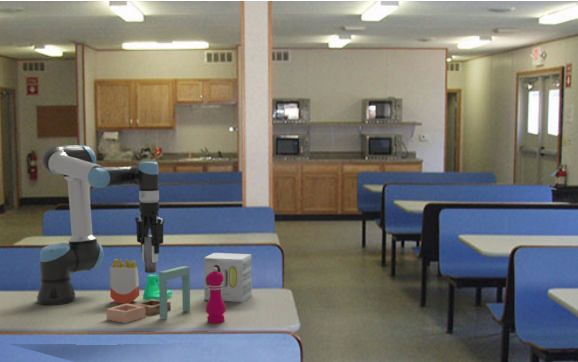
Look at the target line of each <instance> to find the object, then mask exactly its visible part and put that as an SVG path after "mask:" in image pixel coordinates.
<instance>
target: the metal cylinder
mask: <svg viewBox="0 0 578 362" xmlns="http://www.w3.org/2000/svg"><path fill="white" fill-rule="evenodd" d="M152 244H153V240H152V235H151V234H150V235H149V234H148V235H147V236H144V256H145V261H144V273H146V274H153V273H157V262H154V263H153V262H152Z"/></svg>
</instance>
